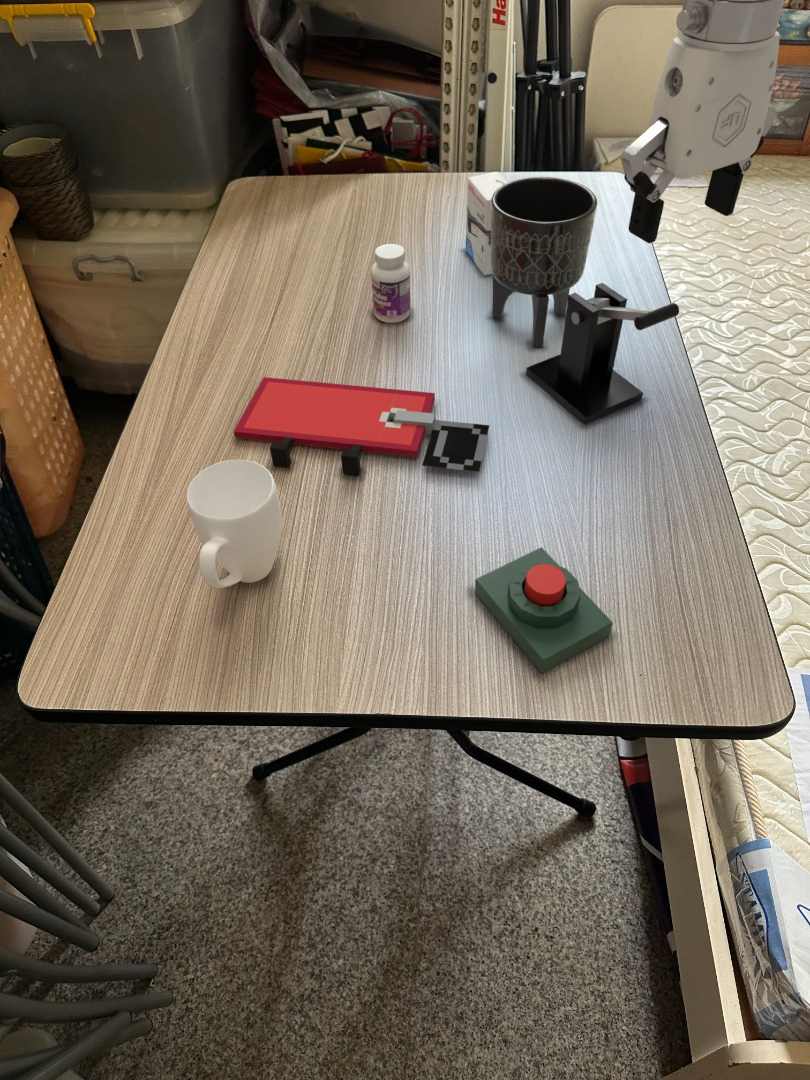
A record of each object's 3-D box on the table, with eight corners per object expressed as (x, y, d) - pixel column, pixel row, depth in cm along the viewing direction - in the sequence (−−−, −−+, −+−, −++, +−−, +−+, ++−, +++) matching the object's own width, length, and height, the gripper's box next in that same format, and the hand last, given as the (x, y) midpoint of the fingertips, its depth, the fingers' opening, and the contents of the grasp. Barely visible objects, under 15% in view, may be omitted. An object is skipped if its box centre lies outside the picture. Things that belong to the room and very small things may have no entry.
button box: (609, 636, 74) (616, 610, 71) (541, 673, 72) (545, 649, 69) (539, 560, 81) (543, 534, 78) (474, 592, 78) (475, 567, 75)
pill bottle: (366, 318, 112) (362, 255, 104) (384, 300, 115) (381, 237, 108) (400, 327, 110) (397, 264, 103) (417, 309, 113) (416, 245, 106)
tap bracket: (641, 400, 97) (663, 309, 88) (584, 425, 95) (600, 333, 85) (580, 353, 105) (594, 264, 95) (525, 374, 102) (534, 285, 92)
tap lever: (680, 321, 84) (678, 298, 83) (644, 335, 82) (642, 312, 81) (605, 314, 94) (603, 293, 93) (572, 326, 92) (569, 306, 91)
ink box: (463, 250, 124) (465, 175, 115) (493, 245, 125) (497, 169, 116) (483, 276, 118) (487, 199, 110) (513, 270, 119) (520, 193, 110)
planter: (538, 290, 115) (551, 167, 102) (597, 331, 108) (620, 203, 95) (466, 318, 111) (470, 193, 98) (523, 362, 103) (536, 234, 90)
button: (571, 595, 73) (573, 583, 72) (540, 611, 72) (542, 600, 70) (547, 570, 75) (549, 558, 74) (517, 585, 74) (518, 573, 72)
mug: (228, 532, 85) (204, 453, 76) (301, 542, 83) (286, 463, 75) (185, 621, 77) (153, 544, 68) (265, 634, 75) (243, 557, 67)
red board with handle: (476, 489, 87) (494, 407, 97) (477, 470, 85) (495, 389, 95) (224, 460, 92) (265, 386, 102) (219, 442, 90) (262, 367, 100)
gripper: (681, 49, 58) (637, 265, 70) (843, 8, 63) (775, 215, 76) (614, 24, 62) (584, 231, 75) (770, -12, 68) (718, 187, 80)
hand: (680, 223), depth 75 cm, fingers open, 9 cm apart
